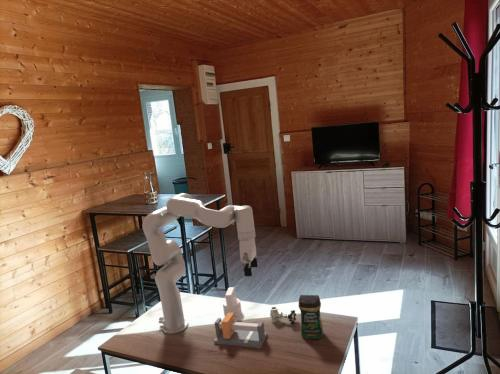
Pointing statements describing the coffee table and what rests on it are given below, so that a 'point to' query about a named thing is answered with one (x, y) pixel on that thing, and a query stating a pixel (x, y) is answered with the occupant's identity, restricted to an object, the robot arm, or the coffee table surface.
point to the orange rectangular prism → (228, 325)
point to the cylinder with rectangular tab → (231, 303)
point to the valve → (281, 315)
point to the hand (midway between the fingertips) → (251, 271)
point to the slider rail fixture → (242, 334)
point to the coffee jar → (310, 317)
